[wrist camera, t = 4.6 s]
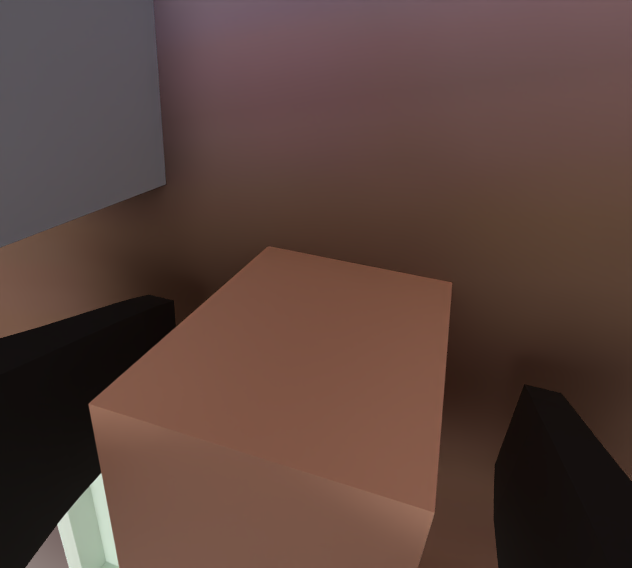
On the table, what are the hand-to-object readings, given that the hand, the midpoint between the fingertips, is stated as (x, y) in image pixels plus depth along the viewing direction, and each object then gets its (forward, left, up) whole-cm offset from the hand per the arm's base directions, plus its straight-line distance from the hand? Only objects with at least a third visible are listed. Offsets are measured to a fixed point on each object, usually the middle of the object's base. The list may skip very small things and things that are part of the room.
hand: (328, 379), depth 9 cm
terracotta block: (0, 0, -2) cm, 2 cm away
